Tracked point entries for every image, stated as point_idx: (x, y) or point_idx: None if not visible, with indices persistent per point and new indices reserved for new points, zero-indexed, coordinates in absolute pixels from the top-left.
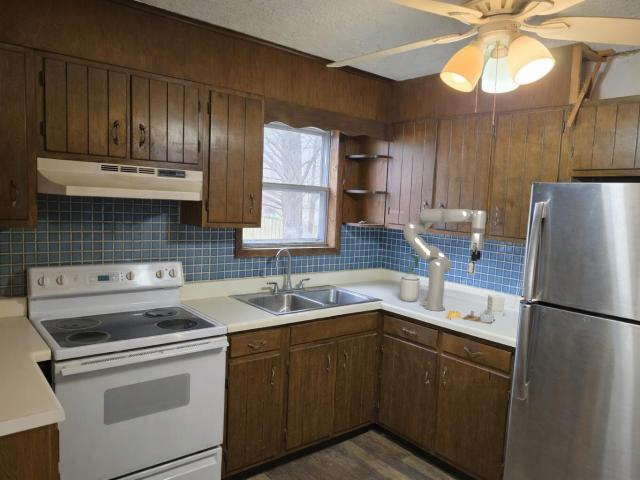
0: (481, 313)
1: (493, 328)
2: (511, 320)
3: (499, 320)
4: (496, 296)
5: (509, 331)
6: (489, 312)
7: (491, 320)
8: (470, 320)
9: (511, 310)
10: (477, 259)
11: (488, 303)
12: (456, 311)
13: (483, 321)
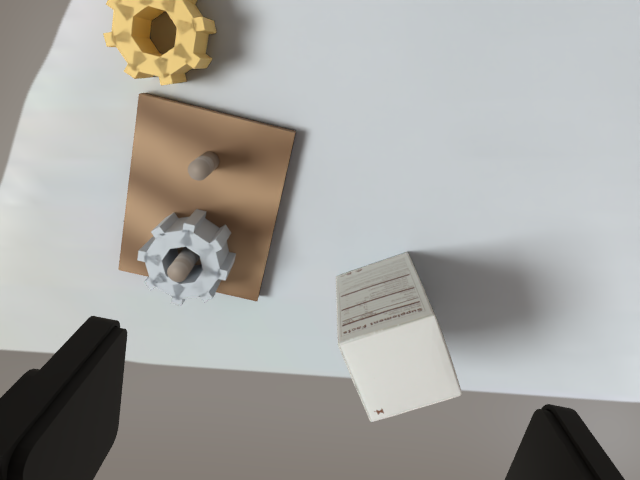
0: (175, 230)
1: (87, 277)
2: (341, 376)
3: (304, 316)
4: (392, 373)
5: None
6: (367, 276)
7: None
8: (133, 152)
9: (617, 395)
10: (520, 455)
11: (402, 291)
12: (188, 49)
13: None
